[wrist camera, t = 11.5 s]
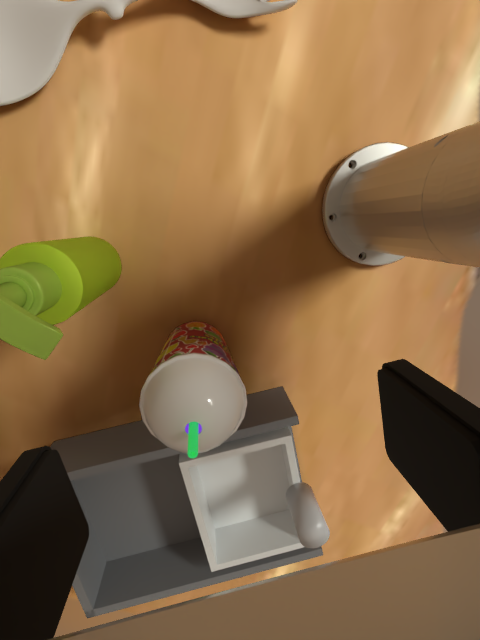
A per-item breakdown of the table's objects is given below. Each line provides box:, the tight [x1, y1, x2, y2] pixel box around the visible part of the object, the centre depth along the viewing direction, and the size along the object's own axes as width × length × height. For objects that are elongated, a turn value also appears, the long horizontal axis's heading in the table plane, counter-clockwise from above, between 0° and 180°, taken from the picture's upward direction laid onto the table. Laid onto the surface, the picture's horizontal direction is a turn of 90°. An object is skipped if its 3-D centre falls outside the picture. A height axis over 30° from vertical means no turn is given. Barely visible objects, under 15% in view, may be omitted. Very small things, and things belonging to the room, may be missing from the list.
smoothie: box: [139, 321, 248, 458], centre depth 31 cm, size 8×8×20 cm
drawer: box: [179, 427, 330, 572], centre depth 39 cm, size 13×15×11 cm
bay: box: [50, 386, 323, 618], centre depth 42 cm, size 28×19×7 cm
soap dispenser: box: [0, 237, 121, 360], centre depth 28 cm, size 6×7×20 cm
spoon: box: [0, 0, 297, 106], centre depth 31 cm, size 9×32×4 cm, turn 108°
